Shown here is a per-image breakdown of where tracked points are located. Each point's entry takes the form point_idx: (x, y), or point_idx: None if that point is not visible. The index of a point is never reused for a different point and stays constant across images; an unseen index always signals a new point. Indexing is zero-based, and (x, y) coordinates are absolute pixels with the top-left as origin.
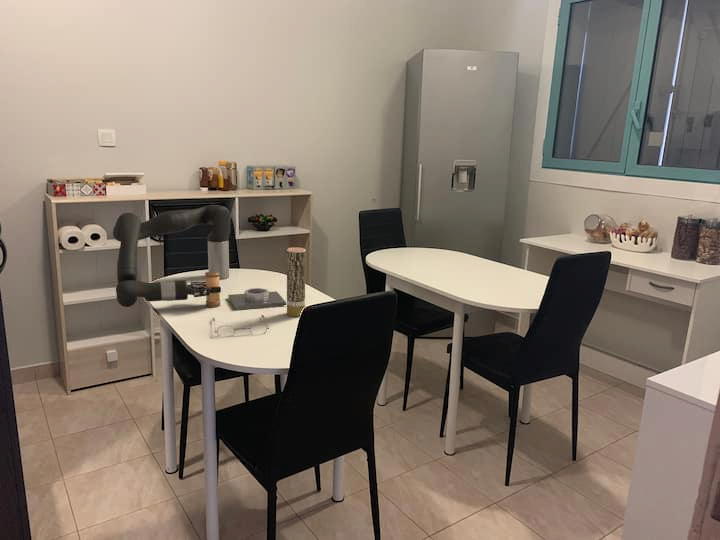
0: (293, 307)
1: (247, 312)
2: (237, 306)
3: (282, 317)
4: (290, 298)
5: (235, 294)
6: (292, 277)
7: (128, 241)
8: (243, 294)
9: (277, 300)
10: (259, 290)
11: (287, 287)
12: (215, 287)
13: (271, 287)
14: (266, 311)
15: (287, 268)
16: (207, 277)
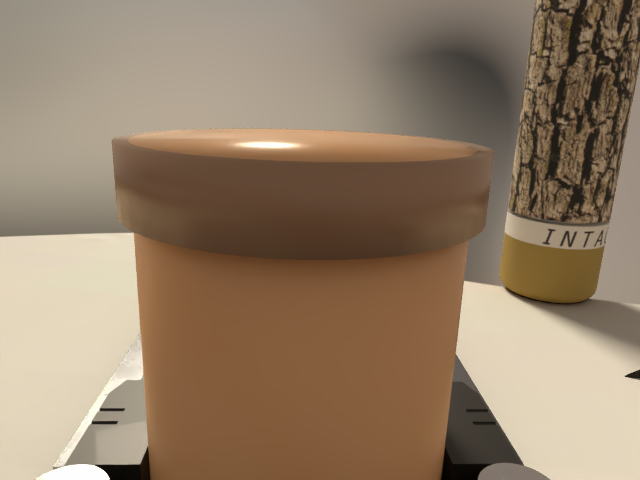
0: (603, 249)
1: (568, 429)
2: (512, 448)
3: (618, 321)
4: (609, 206)
5: (94, 415)
6: (635, 81)
7: None
8: (139, 373)
9: None
10: None
11: (602, 150)
12: (462, 405)
13: (15, 285)
14: (517, 351)
15: (621, 29)
16: (424, 266)
